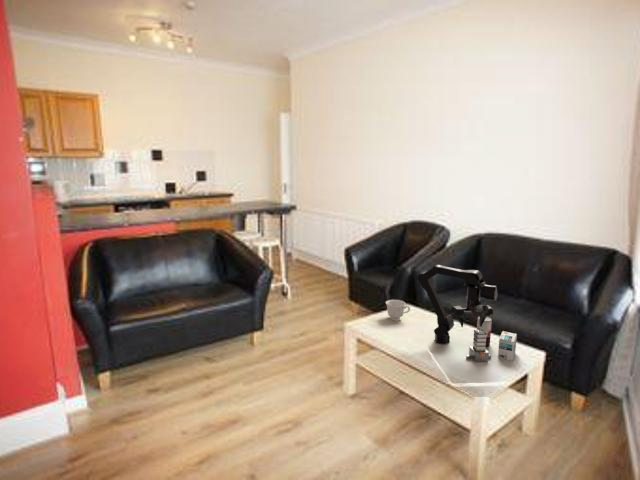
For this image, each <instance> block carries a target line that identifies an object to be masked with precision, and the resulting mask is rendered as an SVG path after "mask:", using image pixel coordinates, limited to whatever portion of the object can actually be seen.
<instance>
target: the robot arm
mask: <svg viewBox="0 0 640 480" xmlns="http://www.w3.org/2000/svg"><path fill="white" fill-rule="evenodd" d="M436 275H443V276H447V277H451V278H456V279H459V280H462V281H463V282H465V283H464V284H463V286H462V287H465V288H467V290H466V291H467V292H466V296H465V300H466V304H465V306H464V307H461V305H453V306H452V307H451V312H452V314H453V315H455V316H457V318H458V321H459V323H460V326H461V328H463V327H464V317H465V315H464V314H465V313H472V315H473V317H477V318H478V317H480V319H479V325H480V327H481V326H482V324H483V322H484V320H485V319H486V317H491V315H492V316H493V315H494V312H495V311H494V308H493V307H491V306H490V305H488V304H487V305H486V304H484V305H483V304H482V302H481V298H482V299H484V300H489V301H493V302H495V301H497V299H498V294H499V293H498V289H497V287H498V286H497V285H489V284H487V282H486V281H485V279H484V278H483V274H482V272H481V271H480V270H478V269H477V270H476V269H460V268H453V267H449V266H445V265H440V264H436V265H434V266H433V267H432V268H430V269H429V270H426V271H425V270H424V271H422V272H421V273H419V274H418V276H417V278H416V280H417V282H418V284H419V285H420V287H421V288H422V289H423V290H424V291H425V293H426V295H427V297H428V299H429V301H430V303H431V305H432V308H433V310H434V312H435V315H436V321H437V322H436V323H437V327H436V328H435V329H433V332H434V339H433V342H435V343H436V344H439V345H445V344H449V343H451V342H450V340H451V336H450V333H449V332H450V331H451V330H452V329H453V328H454V326H455V319H453V316H452V314H448V313H447V312H446V310H445V308H444V306H443V304H442V301H441V299H440V297H439V295H438V293H437V290H436V288H435V281H434V277H435V276H436Z"/></svg>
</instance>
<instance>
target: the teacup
mask: <svg viewBox="0 0 640 480" xmlns="http://www.w3.org/2000/svg"><path fill="white" fill-rule="evenodd" d="M385 304H386V310H387V311H386V312H387V316H389V317H390V320H392V321H399V320H401V317H403V315H404V314H407V313H409V312H410V311H411V306H409V305H408V304H407V303H406V302H405V301H404V300H400V299H388V300H386V301H385ZM405 309H408V310H406V311H405Z"/></svg>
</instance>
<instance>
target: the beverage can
mask: <svg viewBox="0 0 640 480" xmlns="http://www.w3.org/2000/svg"><path fill="white" fill-rule="evenodd" d="M479 319H480V316H477V322H476V324H477V325H476V330H484V331H485V332H486V333H487V335H486V337H487V338H486V347H485V348H489V347H490V346H491V336H492V335H491V334H492V321H493V320H492V318H491V317H490V316H488V317H486V319H485V320H484V322H483V324H482V326H481V327H480V325H479Z"/></svg>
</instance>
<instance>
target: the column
mask: <svg viewBox="0 0 640 480" xmlns="http://www.w3.org/2000/svg"><path fill="white" fill-rule="evenodd" d="M486 335H487V333H486V332H485V331H484V330H477V329H474V330H473V341H472V346H473V349H474V350H475V351H476V352H485V351H486V350H487V347H486V338H487V337H486Z"/></svg>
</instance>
